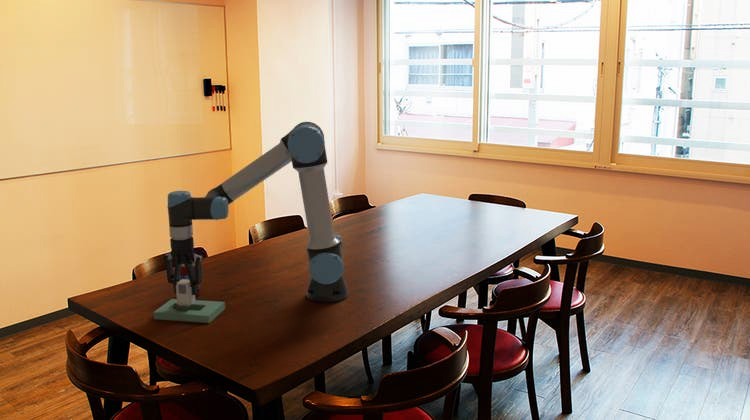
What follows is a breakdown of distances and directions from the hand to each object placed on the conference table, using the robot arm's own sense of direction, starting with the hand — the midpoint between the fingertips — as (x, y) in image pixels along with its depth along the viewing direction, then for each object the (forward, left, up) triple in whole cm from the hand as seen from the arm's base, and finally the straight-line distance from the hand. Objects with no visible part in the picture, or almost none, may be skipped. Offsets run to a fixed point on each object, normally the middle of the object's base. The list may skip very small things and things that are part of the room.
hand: (186, 302), depth 235 cm
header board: (-1, 0, -4) cm, 4 cm away
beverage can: (+7, -18, -4) cm, 19 cm away
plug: (0, 0, 0) cm, 0 cm away
